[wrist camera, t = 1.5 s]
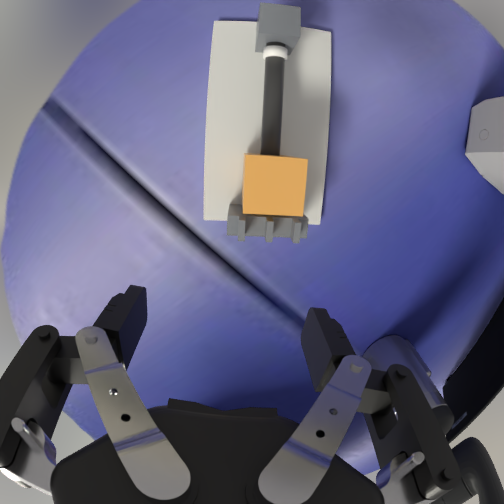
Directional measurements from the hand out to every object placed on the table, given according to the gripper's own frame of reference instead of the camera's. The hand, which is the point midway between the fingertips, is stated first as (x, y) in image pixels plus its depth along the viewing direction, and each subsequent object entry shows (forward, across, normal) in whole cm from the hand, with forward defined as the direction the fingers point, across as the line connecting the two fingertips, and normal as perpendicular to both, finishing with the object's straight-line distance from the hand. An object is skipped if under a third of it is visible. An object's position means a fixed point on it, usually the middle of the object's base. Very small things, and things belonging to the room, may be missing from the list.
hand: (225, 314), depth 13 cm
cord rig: (+22, -2, -12) cm, 25 cm away
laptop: (+22, -66, +20) cm, 72 cm away
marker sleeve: (+20, -3, -5) cm, 21 cm away
